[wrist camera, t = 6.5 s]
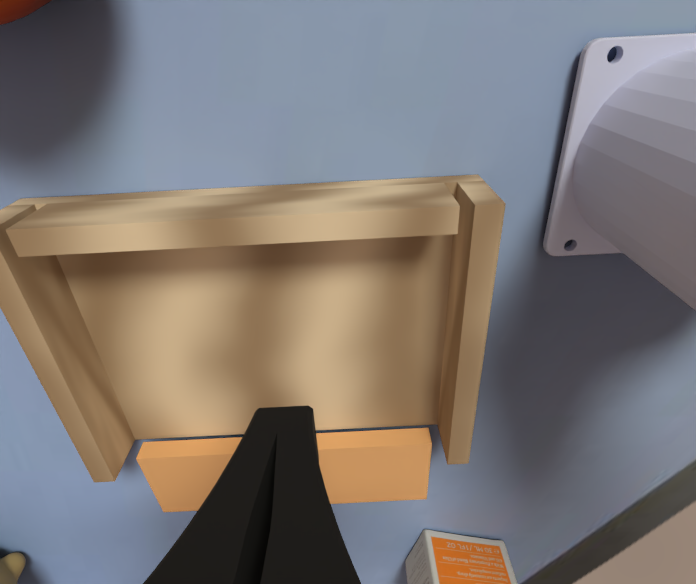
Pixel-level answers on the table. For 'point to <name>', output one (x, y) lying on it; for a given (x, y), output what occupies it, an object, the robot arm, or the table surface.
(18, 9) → the fruit
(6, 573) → the tan toy animal
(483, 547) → the skincare box
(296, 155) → the table surface
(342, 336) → the tray
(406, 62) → the table surface
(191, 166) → the table surface
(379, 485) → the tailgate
